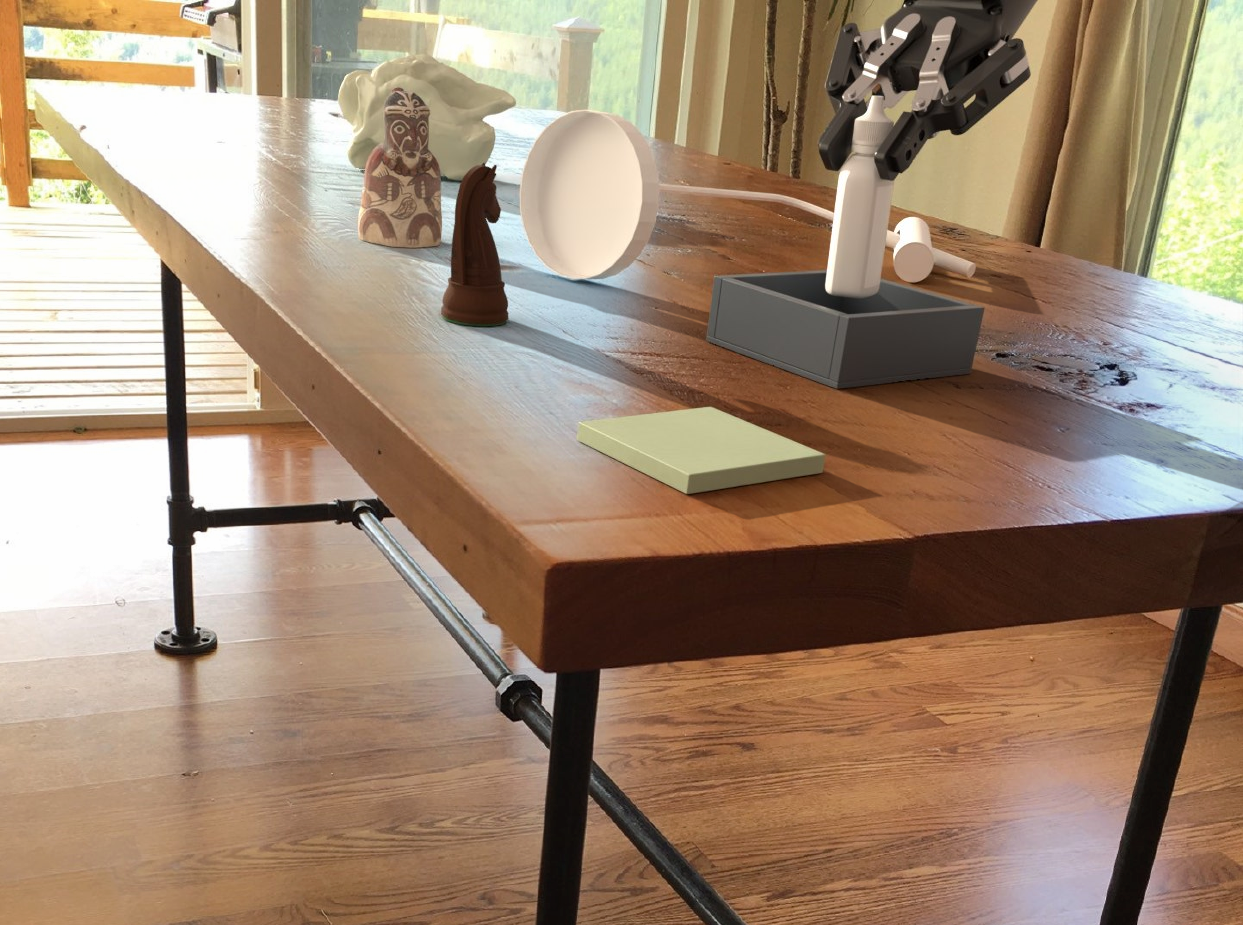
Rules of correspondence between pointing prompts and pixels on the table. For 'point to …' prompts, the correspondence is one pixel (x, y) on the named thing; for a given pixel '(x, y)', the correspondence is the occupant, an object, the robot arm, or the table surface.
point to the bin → (843, 329)
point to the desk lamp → (641, 202)
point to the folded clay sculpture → (444, 91)
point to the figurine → (402, 179)
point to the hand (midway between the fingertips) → (855, 164)
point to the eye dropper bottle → (861, 211)
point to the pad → (700, 449)
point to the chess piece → (475, 255)
